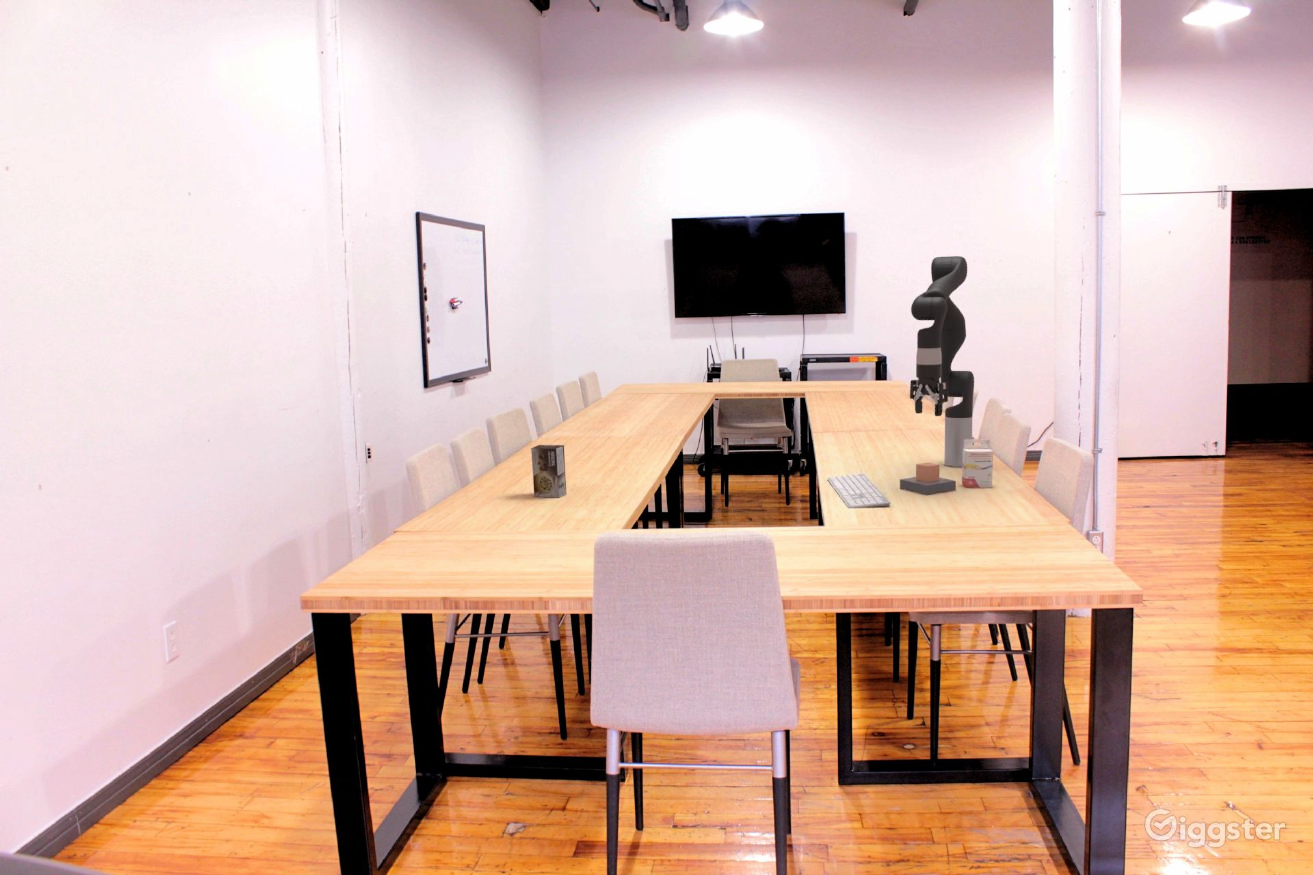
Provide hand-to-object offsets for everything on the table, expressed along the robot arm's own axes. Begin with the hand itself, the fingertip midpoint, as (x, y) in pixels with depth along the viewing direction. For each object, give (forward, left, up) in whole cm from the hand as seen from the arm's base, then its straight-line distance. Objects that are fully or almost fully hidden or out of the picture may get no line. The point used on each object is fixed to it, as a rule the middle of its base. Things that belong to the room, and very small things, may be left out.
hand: (928, 414), depth 315 cm
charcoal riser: (0, 0, -24) cm, 24 cm away
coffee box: (+102, -63, -24) cm, 122 cm away
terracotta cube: (0, 0, -21) cm, 21 cm away
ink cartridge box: (-16, +5, -24) cm, 29 cm away
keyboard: (+20, -10, -25) cm, 33 cm away
